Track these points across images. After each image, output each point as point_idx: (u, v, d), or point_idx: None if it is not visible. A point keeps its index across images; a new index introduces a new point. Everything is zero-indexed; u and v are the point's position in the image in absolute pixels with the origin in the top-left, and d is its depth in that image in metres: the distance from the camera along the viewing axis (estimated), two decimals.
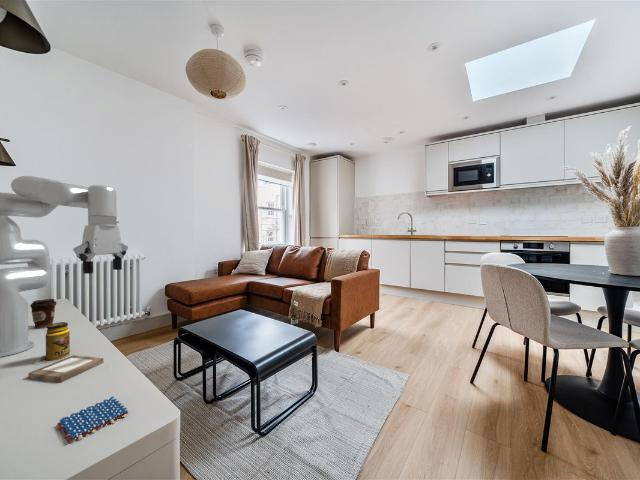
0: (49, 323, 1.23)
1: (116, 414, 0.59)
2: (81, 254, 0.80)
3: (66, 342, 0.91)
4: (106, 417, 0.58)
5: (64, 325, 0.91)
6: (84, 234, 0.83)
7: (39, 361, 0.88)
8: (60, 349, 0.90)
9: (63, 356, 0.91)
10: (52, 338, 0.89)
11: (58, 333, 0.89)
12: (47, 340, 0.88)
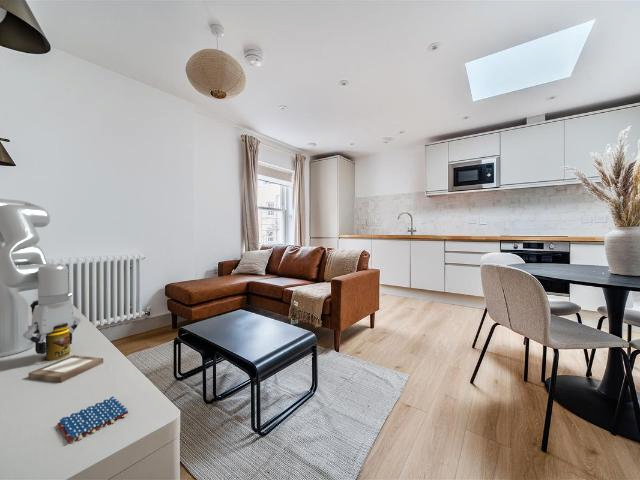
0: None
1: (116, 414, 0.59)
2: (32, 338, 0.85)
3: (66, 342, 0.91)
4: (106, 417, 0.58)
5: (64, 325, 0.91)
6: (33, 315, 0.86)
7: (39, 361, 0.88)
8: (60, 349, 0.90)
9: (63, 356, 0.91)
10: (52, 338, 0.89)
11: (58, 333, 0.89)
12: (47, 340, 0.88)
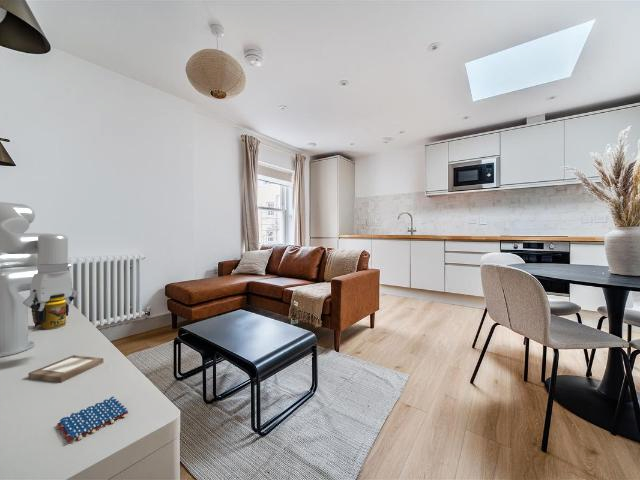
0: None
1: (116, 414, 0.59)
2: (32, 305, 0.85)
3: (62, 313, 0.91)
4: (106, 417, 0.58)
5: (61, 295, 0.91)
6: (32, 282, 0.86)
7: (35, 330, 0.88)
8: (56, 319, 0.89)
9: (59, 326, 0.90)
10: (48, 307, 0.88)
11: (54, 303, 0.89)
12: (43, 309, 0.88)
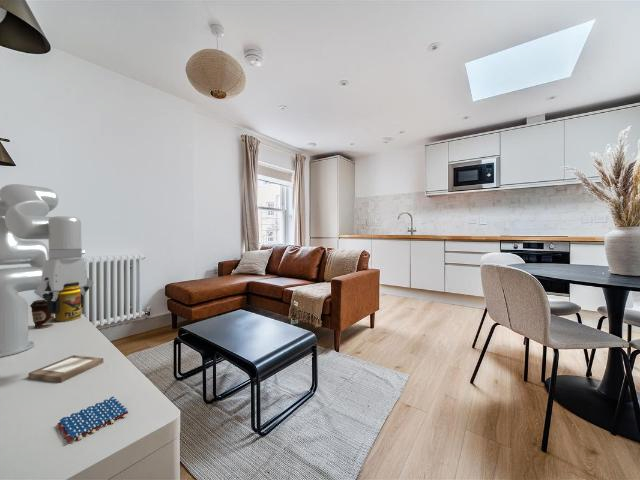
0: None
1: (116, 414, 0.59)
2: (45, 294, 0.76)
3: (77, 303, 0.82)
4: (106, 417, 0.58)
5: (75, 284, 0.82)
6: (44, 270, 0.78)
7: (48, 322, 0.79)
8: (71, 310, 0.81)
9: (74, 318, 0.81)
10: (62, 297, 0.79)
11: (68, 292, 0.80)
12: None
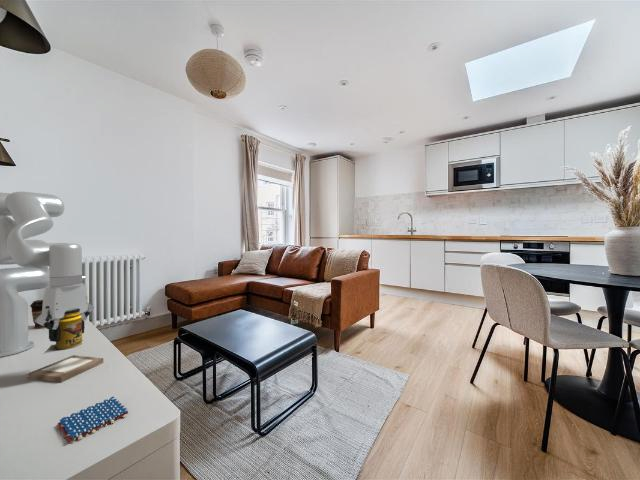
0: None
1: (116, 414, 0.59)
2: (46, 323, 0.76)
3: (78, 330, 0.82)
4: (106, 417, 0.58)
5: (76, 310, 0.82)
6: (44, 298, 0.78)
7: (49, 350, 0.79)
8: (72, 338, 0.80)
9: (75, 345, 0.81)
10: (63, 324, 0.79)
11: (69, 320, 0.80)
12: (57, 327, 0.79)
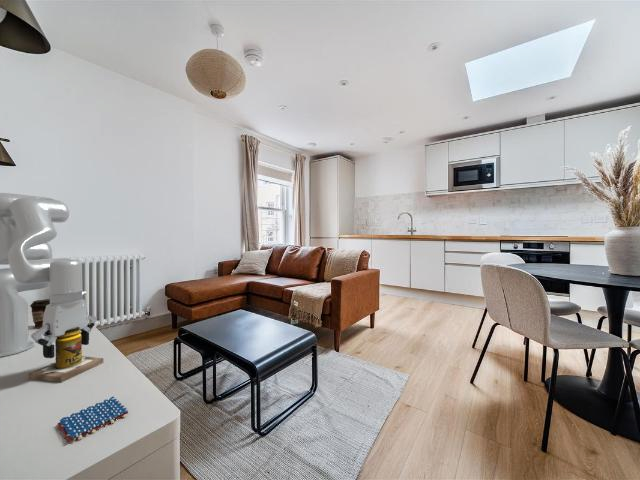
0: None
1: (116, 414, 0.59)
2: (40, 340, 0.75)
3: (78, 348, 0.82)
4: (106, 417, 0.58)
5: (76, 329, 0.82)
6: (45, 315, 0.78)
7: (49, 369, 0.79)
8: (72, 356, 0.81)
9: (75, 364, 0.81)
10: (63, 344, 0.79)
11: (69, 339, 0.80)
12: (57, 346, 0.79)
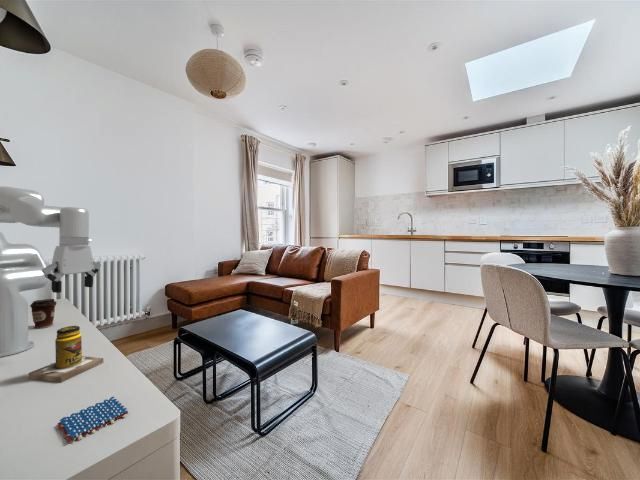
0: (49, 323, 1.23)
1: (116, 414, 0.59)
2: (49, 275, 0.84)
3: (78, 348, 0.82)
4: (106, 417, 0.58)
5: (76, 329, 0.82)
6: (54, 254, 0.87)
7: (49, 369, 0.79)
8: (72, 356, 0.81)
9: (75, 364, 0.81)
10: (63, 344, 0.79)
11: (69, 339, 0.80)
12: (57, 346, 0.79)
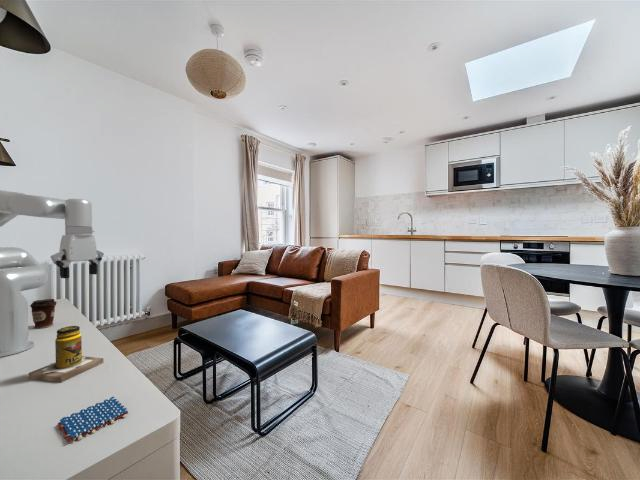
0: (49, 323, 1.23)
1: (116, 414, 0.59)
2: (57, 261, 0.90)
3: (78, 348, 0.82)
4: (106, 417, 0.58)
5: (76, 329, 0.82)
6: (61, 243, 0.93)
7: (49, 369, 0.79)
8: (72, 356, 0.81)
9: (75, 364, 0.81)
10: (63, 344, 0.79)
11: (69, 339, 0.80)
12: (57, 346, 0.79)
